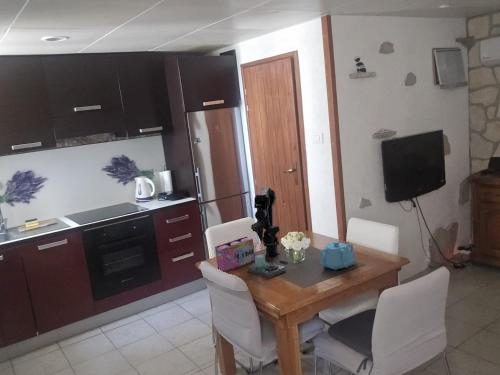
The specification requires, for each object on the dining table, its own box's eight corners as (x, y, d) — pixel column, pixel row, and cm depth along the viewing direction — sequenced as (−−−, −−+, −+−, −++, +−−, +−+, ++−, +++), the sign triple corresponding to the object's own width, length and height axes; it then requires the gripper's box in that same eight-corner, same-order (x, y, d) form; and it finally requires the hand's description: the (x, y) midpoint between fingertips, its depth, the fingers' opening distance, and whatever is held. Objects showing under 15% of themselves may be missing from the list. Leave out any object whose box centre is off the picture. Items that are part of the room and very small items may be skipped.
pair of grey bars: (280, 261, 256) (280, 259, 256) (287, 263, 251) (287, 261, 251) (271, 265, 251) (271, 263, 251) (279, 267, 247) (278, 265, 247)
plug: (261, 268, 249) (260, 254, 247) (266, 269, 246) (264, 255, 244) (256, 270, 246) (254, 256, 245) (260, 271, 243) (259, 257, 242)
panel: (263, 265, 253) (263, 259, 253) (285, 271, 239) (285, 265, 239) (247, 271, 246) (247, 266, 245) (269, 278, 232) (268, 272, 231)
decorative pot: (346, 273, 226) (343, 248, 224) (317, 269, 236) (315, 245, 233) (358, 262, 239) (356, 238, 237) (330, 259, 249) (328, 236, 246)
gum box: (249, 257, 270) (247, 236, 268) (257, 259, 264) (255, 238, 261) (217, 269, 256) (214, 246, 254) (224, 271, 250) (221, 249, 248)
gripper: (242, 217, 253) (245, 243, 256) (263, 221, 239) (267, 248, 241) (257, 213, 260) (260, 238, 262) (278, 216, 246) (281, 243, 248)
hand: (266, 242), depth 253 cm, fingers open, 9 cm apart
